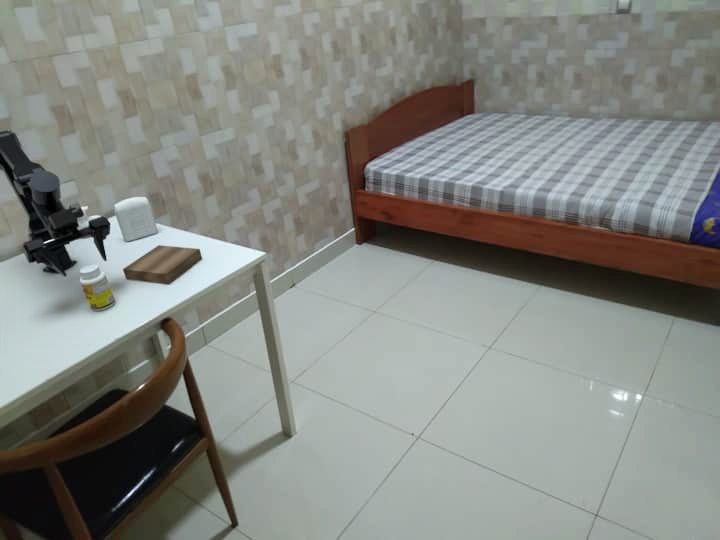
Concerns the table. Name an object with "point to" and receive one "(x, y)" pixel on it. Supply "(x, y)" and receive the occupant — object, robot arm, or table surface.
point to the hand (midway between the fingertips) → (86, 267)
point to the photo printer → (135, 218)
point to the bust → (85, 219)
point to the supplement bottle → (96, 288)
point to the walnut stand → (162, 264)
